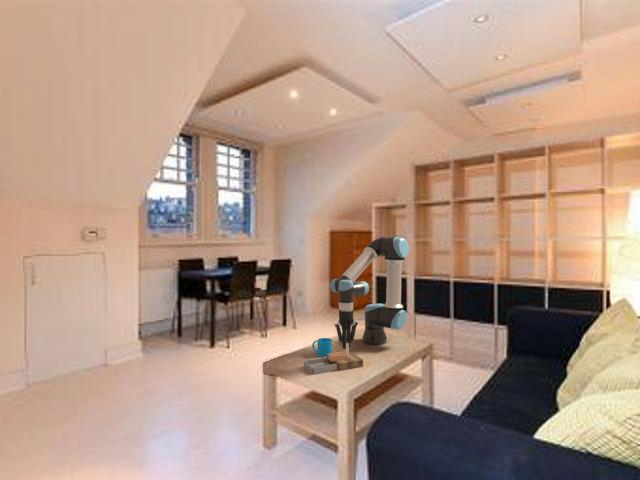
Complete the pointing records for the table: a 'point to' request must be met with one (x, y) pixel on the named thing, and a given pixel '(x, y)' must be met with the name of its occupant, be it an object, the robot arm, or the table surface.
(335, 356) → the tile
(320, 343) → the mug
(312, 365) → the tray
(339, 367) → the brown square slab
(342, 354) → the tile
